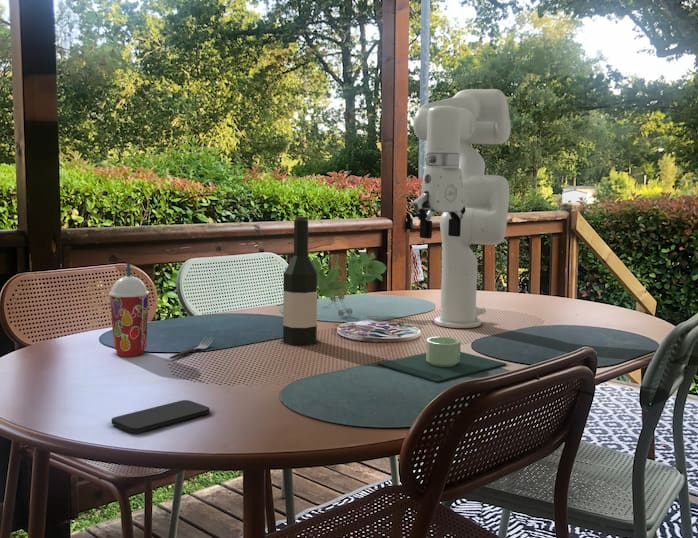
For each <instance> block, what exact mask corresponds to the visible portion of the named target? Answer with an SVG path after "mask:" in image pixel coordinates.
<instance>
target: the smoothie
mask: <svg viewBox="0 0 698 538" xmlns="http://www.w3.org/2000/svg"><path fill="white" fill-rule="evenodd" d="M149 294H150V291H149V290H148V289H147V286H146V284H145V283H144V282H143V281H142V280H141V279H140V278H139V277H137V276H133V275H131V263H126V275H125V276H122V277H120V278H118V279H117V280H116V281H115V282H114V284H113V285H112V287H111V289H110V291H109V292H108V295H109V307H110V316H111V327H112V337H113V338H112V339H113V349H114V350H115V352H116V355H117V356H120V357H137V356H141V355H143V354H144V353H145V349H146V348H147V340H148V339H147V338H148V318H149Z"/></svg>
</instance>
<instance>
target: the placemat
mask: <svg viewBox="0 0 698 538" xmlns="http://www.w3.org/2000/svg"><path fill="white" fill-rule="evenodd" d="M377 365H378V366H380V367H384V368H386V369H387V368H388V369H391V370H394V371H397V372H401V373H404V374H408V375H410V376H414V377H417V378H421V379H424V380H428V381H430V382H434V383H441V382H446V381H448V380H452V379H453V380H454V379H457V378H460V377H464V376H468V375H472V374H477V373H480V372H484V371H488V370H492V369H496V368H500V367H504V366H506V365H507V362H502V361H499V360H494V359H491V358H486V357H483V356H479V355H475V354H470V353H467V352H462V351H460V362H459V363H457V364H456V365H455V366H450V367H440V366H434V365H431V364H429V362H427V361H426V352H423V353H420V354H414V355H410V356H406V357H401V358H396V359H391V360H387V361H382V362H378V364H377Z"/></svg>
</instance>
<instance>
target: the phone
mask: <svg viewBox="0 0 698 538" xmlns="http://www.w3.org/2000/svg"><path fill="white" fill-rule="evenodd" d="M209 413H210V407H209V406H206V405H203V404H201V403H198V402H195V401H192V400H188V399H182V400H177V401H174V402H169V403H166V404H162V405H158V406H154V407H153V406H152V407H149V408H146V409H141V410H137V411H134V412H133V411H132V412H129V413H126V414H121V415H117V416H114V417H112V418H111V425H113V426H116V427H118V428H120V429H122V430H125V431H127V432H129V433H141V432H145V431H149V430H153V429H156V428H157V429H158V428H161V427H163V426H168V425H171V424H174V423H179V422H182V421H185V420H189V419H193V418H198V417H201V416H204V415H207V414H209Z"/></svg>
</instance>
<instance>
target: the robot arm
mask: <svg viewBox="0 0 698 538" xmlns="http://www.w3.org/2000/svg"><path fill="white" fill-rule="evenodd" d="M511 127H512V123H511V117H510V110H509V104H508V99H507V98H506V95H505V94H504V92H503V91H502V90H501V89H498V88H469V89H468V88H467V89H463V90H460V91H457V92H456V93H455V94H454V95H453V96H452V97H448V98H443V99H441V100H436V101H432V102H428V103H425V104H422V105H421V106H420V107H419V108H418V109H417V110H416V113H415V115H414V117H413V127H412V128H413V132H414V135H415V136H416V138H417V139H419V140H421V141H426V153H425V157H424V162H425V167H424V171H423V175H422V181H421V182H422V183H421V189H420V190H421V191H420V195H419V196H418V197H417V198H416V199H414V200H413V201H412V204H413V207H414V212H415V215H416V216H417V220H418V221H419V238H420V239H426V240H427V239H429V240H430V239H432V237H433V220H431V219H432V218H433V216H434V214H435V212H436V213H441V216H440V219H439V228H440V237H441V238H440V239H441V256H442V257H441V281H440V284H441V286H440V313H439V315H438V316H436V317H435V318H433V319H434V321H433V322H434V324H435V325H437V326H440V327H444V328H451V329H472V328H473V329H474V328H478V327H480V326H481V325H482V320H481V319H480V318H478V316H479V315H485V313H486V312H487V310H486V308H485V307H483V306H482V307H478V306H477V287H478V258H477V256H476V254H475V253H474V251H473V249H471V247H470V246H469V245H483V246H484V245H486V246H487V245H488V246H490V245H491V246H496V245H499V244H501V243H503V242H504V240H505V237H506V233H507V227H508V216H509V205H510V193H511V192H510V184H509V181H508V180H507V178H506V177H504V176H502V175H497V174H485V170H486V162H485V159H484V158H483V156H482V155H481V154H480V152H479V151H478V150H476V149H475V148H474V147H473V146H472V145H503V144H505V143H506V142H508V141H509V139H510V137H511V131H512V128H511Z"/></svg>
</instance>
